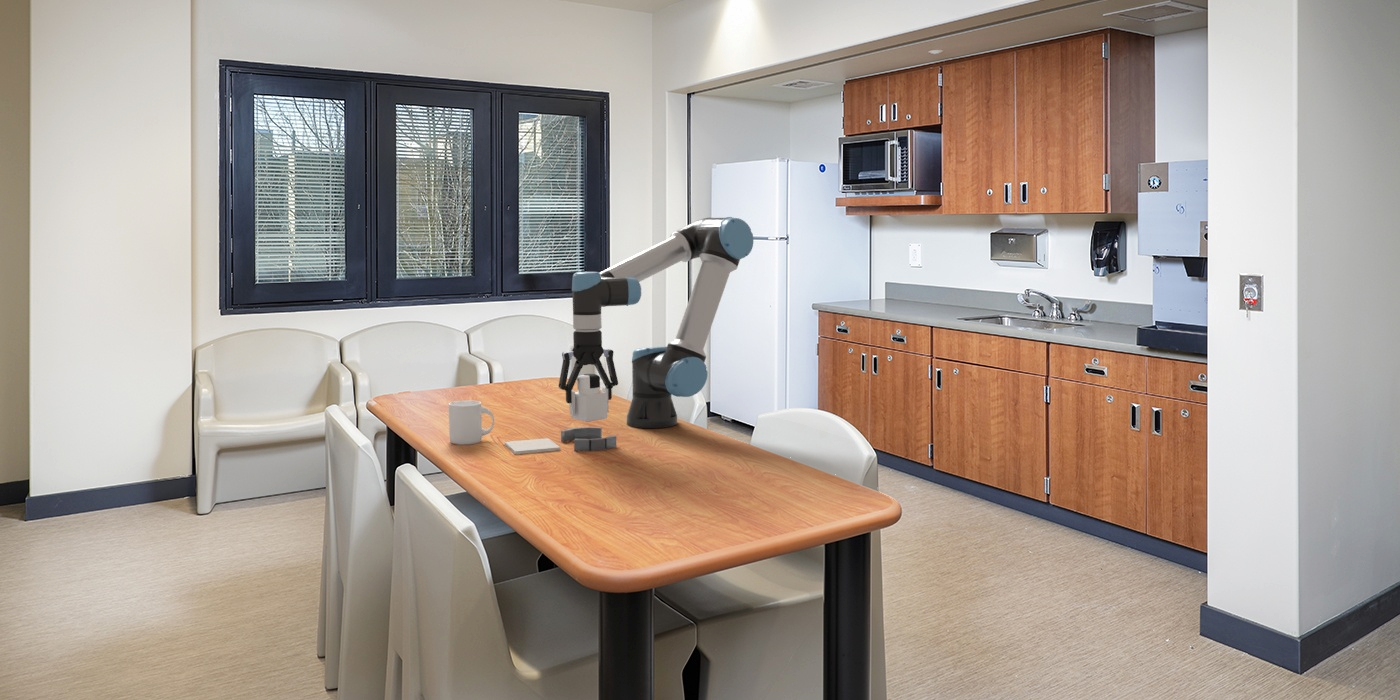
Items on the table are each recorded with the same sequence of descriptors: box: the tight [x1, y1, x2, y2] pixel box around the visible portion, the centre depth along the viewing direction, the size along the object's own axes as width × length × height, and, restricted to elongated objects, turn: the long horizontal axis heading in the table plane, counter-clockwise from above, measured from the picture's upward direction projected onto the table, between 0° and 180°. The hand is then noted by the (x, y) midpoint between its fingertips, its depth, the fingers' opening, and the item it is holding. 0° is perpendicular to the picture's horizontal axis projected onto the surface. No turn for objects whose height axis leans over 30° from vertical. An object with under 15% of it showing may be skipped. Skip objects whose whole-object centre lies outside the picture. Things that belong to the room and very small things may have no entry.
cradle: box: [560, 426, 617, 452], centre depth 260 cm, size 12×16×3 cm
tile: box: [503, 437, 561, 455], centre depth 256 cm, size 12×12×1 cm
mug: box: [448, 399, 495, 446], centre depth 263 cm, size 9×12×11 cm
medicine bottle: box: [570, 373, 609, 423], centre depth 259 cm, size 7×7×12 cm
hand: (589, 413), depth 259 cm, fingers closed on medicine bottle, 9 cm apart
